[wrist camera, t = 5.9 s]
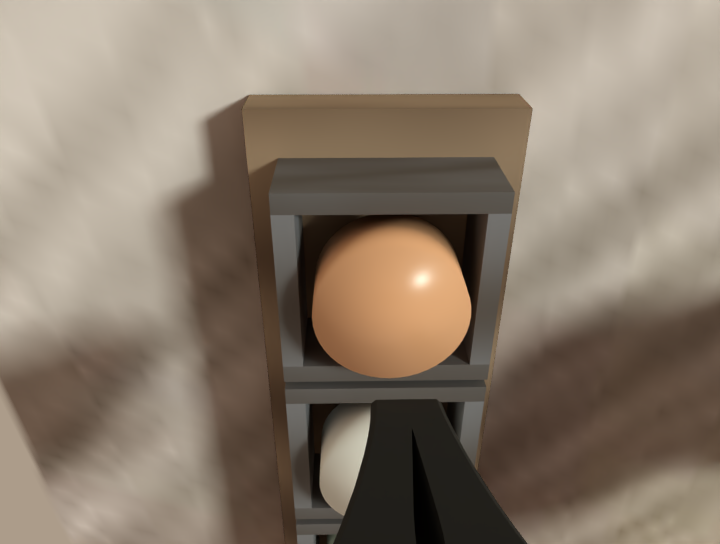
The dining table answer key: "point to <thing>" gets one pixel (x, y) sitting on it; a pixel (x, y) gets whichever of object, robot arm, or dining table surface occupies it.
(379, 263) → the terracotta button
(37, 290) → the dining table surface
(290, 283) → the button panel
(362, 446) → the cream button
